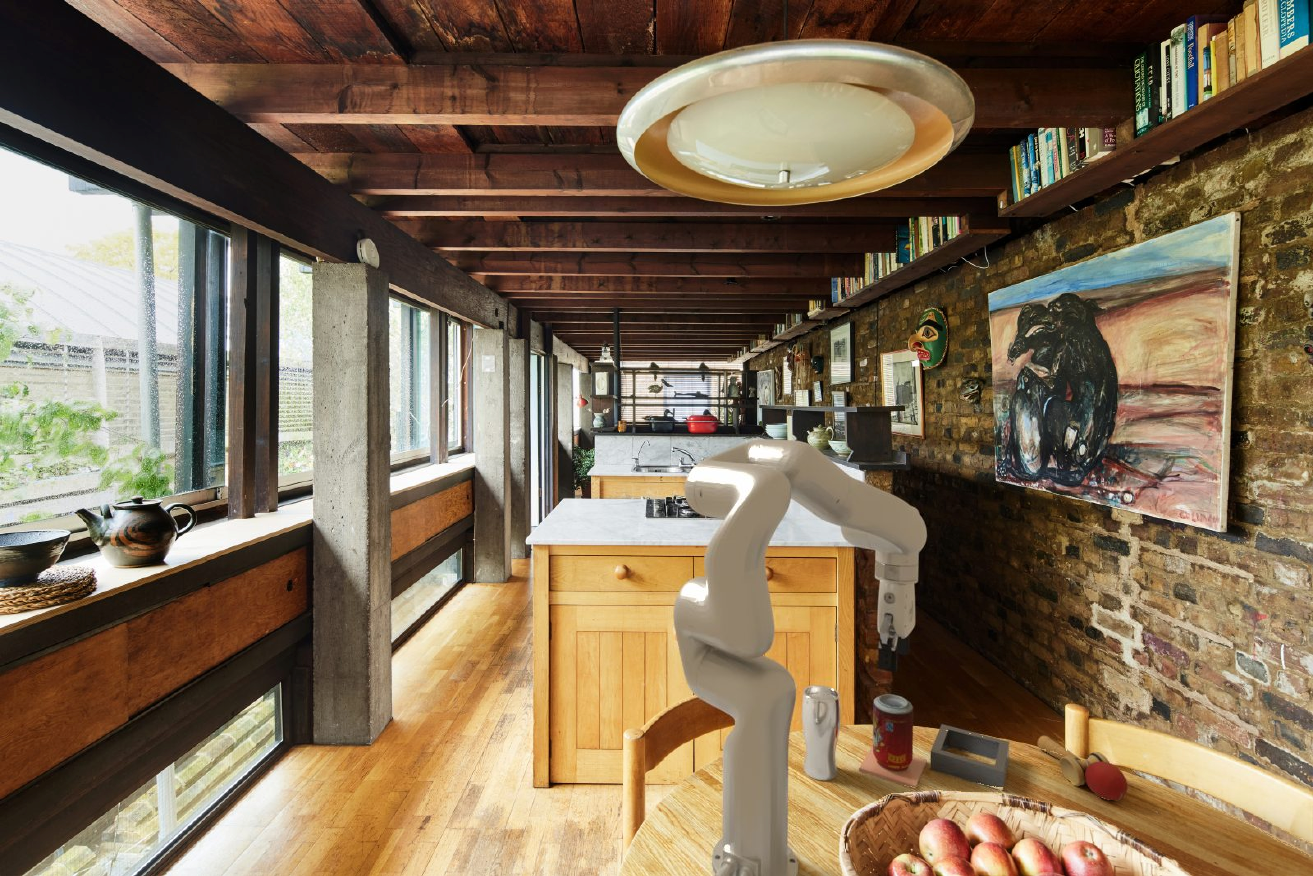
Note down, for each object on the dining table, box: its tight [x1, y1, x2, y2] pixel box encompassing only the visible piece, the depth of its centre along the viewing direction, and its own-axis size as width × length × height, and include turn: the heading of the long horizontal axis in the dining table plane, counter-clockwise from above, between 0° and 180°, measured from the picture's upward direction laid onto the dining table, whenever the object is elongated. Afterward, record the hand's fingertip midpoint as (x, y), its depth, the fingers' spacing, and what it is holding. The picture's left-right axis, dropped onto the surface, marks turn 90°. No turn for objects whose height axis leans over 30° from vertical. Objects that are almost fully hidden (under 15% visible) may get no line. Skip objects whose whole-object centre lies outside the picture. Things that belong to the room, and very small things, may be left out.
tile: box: [858, 744, 928, 787], centre depth 117 cm, size 10×10×1 cm
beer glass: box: [801, 684, 842, 782], centre depth 115 cm, size 7×7×15 cm
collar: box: [929, 723, 1010, 788], centre depth 117 cm, size 12×12×4 cm
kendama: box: [1037, 735, 1128, 801], centre depth 114 cm, size 8×6×18 cm
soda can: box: [872, 693, 914, 772], centre depth 116 cm, size 7×7×12 cm
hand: (893, 661), depth 115 cm, fingers open, 9 cm apart
